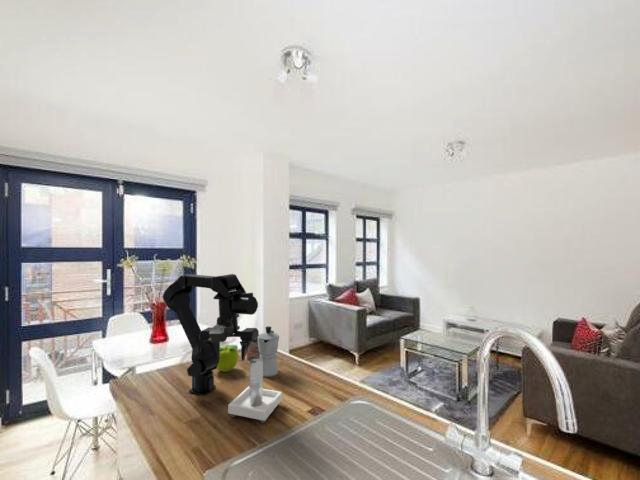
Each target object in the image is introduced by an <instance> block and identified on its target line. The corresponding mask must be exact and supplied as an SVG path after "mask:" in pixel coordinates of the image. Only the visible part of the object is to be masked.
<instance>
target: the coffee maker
mask: <svg viewBox="0 0 640 480" xmlns="http://www.w3.org/2000/svg"><path fill="white" fill-rule="evenodd" d="M264 329H265V332H263V333H259V336H258V337H257V339H258V348H259V352H260V357H259V359H262V360H263V378H264V377H267V378H270V377H273V376H277V375H278V374H279V366H278V358H277V353H278V348H279V341H280V335H279V334H278V333H276V332H275V330H272V326H265V328H264Z"/></svg>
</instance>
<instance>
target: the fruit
mask: <svg viewBox="0 0 640 480" xmlns="http://www.w3.org/2000/svg"><path fill="white" fill-rule="evenodd" d="M237 349H238V346H236V345H232V346H227V345H225V346H223V347H221V346H220V355H219V356H220V359H219V363H218V365H217V368H216V369H217V370H218V371H220V372H223V373H228V372H230V371H232V370H234V368H235V367H236V365H237V364H238V361H239V352H238V350H237Z"/></svg>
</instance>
